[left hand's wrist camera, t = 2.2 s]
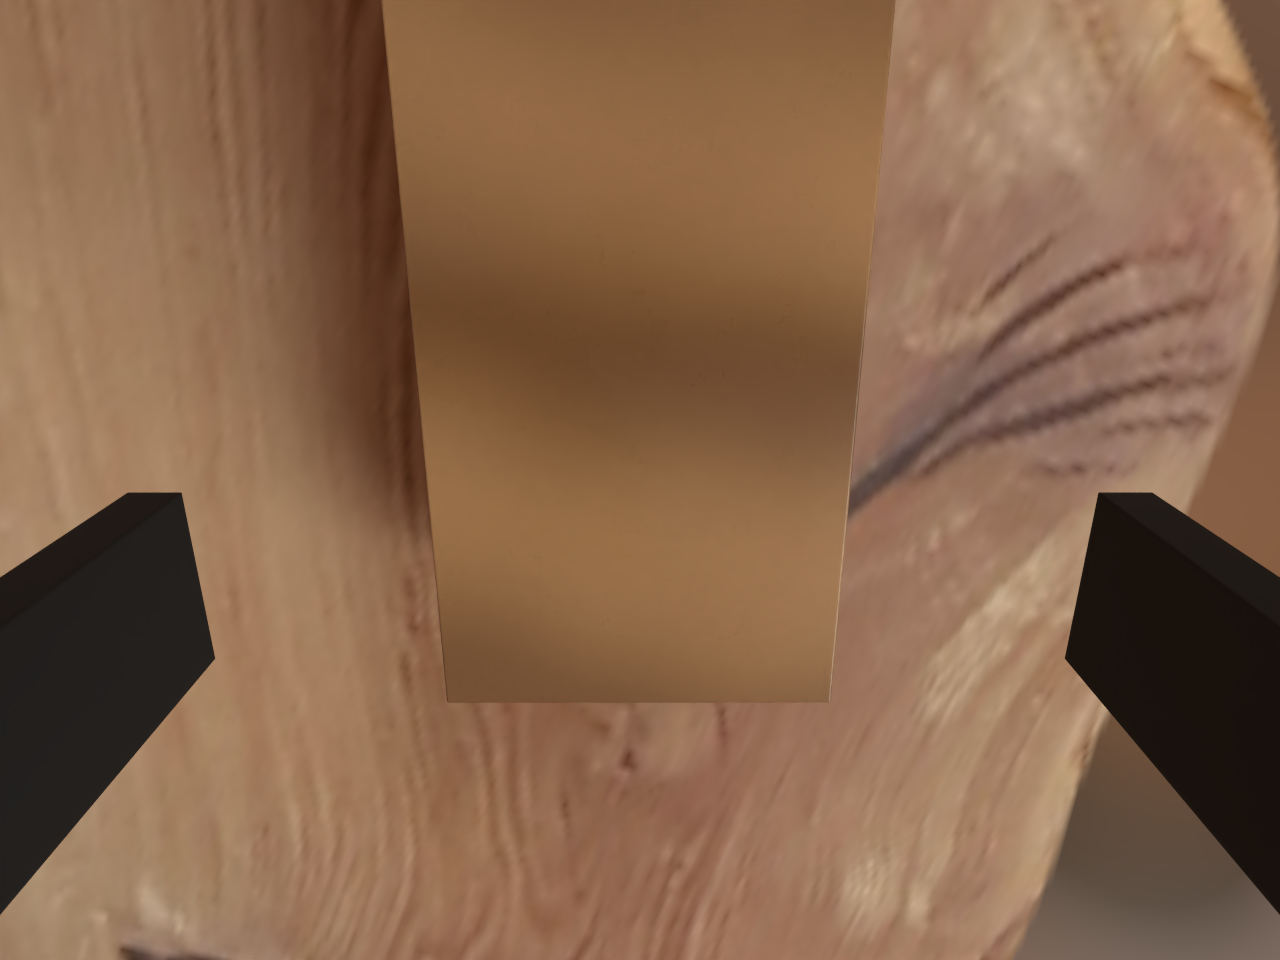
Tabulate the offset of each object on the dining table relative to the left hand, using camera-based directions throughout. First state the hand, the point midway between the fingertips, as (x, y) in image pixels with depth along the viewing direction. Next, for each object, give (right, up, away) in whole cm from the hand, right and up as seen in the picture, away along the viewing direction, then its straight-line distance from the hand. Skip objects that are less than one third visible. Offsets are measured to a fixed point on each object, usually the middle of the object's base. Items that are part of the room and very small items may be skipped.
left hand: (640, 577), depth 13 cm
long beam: (0, +24, +4) cm, 25 cm away
